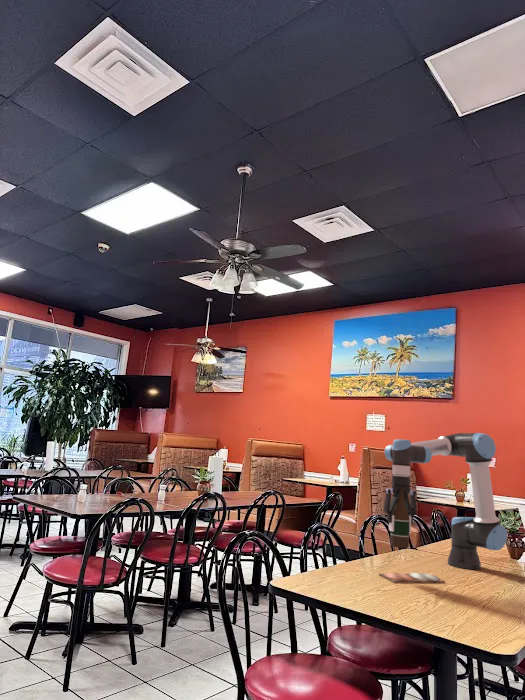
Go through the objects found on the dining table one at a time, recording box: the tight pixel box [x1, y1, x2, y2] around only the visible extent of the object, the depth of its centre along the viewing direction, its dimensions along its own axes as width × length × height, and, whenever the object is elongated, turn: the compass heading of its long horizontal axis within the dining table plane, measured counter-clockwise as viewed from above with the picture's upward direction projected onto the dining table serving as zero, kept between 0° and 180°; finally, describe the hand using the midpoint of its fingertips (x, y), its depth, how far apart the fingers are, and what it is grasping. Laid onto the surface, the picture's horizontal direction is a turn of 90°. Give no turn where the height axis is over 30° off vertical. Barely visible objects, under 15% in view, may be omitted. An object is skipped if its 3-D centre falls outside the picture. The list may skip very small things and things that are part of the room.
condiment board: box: [378, 572, 446, 584], centre depth 212 cm, size 24×12×1 cm, turn 106°
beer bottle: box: [389, 488, 410, 549], centre depth 215 cm, size 8×8×24 cm
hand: (399, 531), depth 214 cm, fingers closed on beer bottle, 7 cm apart
